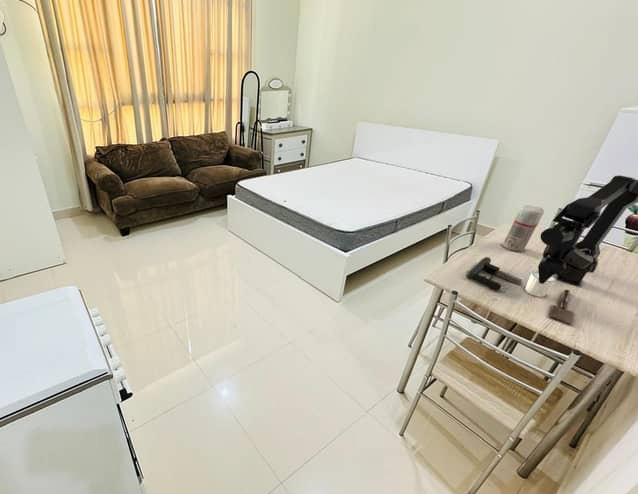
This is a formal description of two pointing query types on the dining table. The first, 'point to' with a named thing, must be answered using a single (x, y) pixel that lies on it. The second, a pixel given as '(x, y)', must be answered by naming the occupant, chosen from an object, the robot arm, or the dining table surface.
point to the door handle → (490, 269)
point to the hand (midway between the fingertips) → (542, 278)
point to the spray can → (523, 228)
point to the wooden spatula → (562, 310)
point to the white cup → (539, 285)
